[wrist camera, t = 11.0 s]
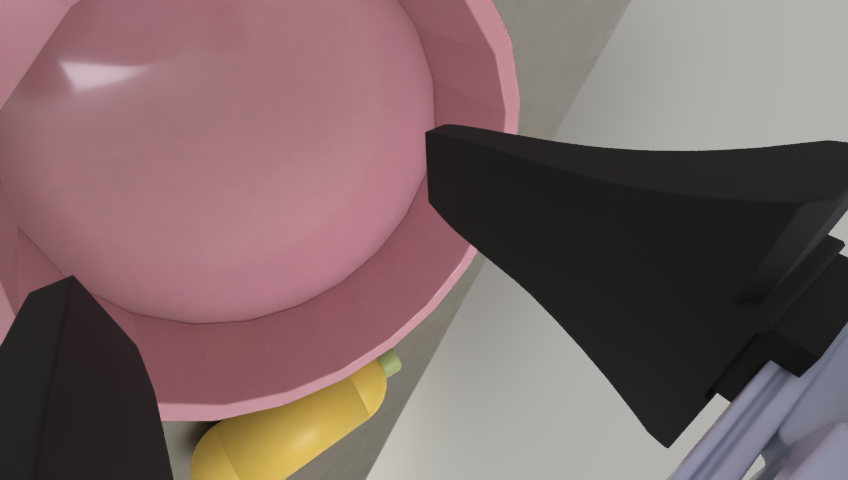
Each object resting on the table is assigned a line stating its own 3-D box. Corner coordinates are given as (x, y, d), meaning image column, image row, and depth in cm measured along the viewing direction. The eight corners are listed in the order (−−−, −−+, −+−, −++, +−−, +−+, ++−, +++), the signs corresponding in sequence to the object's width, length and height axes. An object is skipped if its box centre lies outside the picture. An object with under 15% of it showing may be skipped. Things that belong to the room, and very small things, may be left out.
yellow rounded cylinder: (202, 471, 24) (224, 542, 21) (165, 434, 21) (184, 511, 18) (381, 354, 29) (418, 399, 26) (369, 312, 26) (409, 357, 23)
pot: (149, 390, 19) (175, 489, 16) (-331, -84, 7) (-575, -58, 4) (444, 229, 26) (502, 276, 23) (434, -143, 15) (549, -150, 11)
